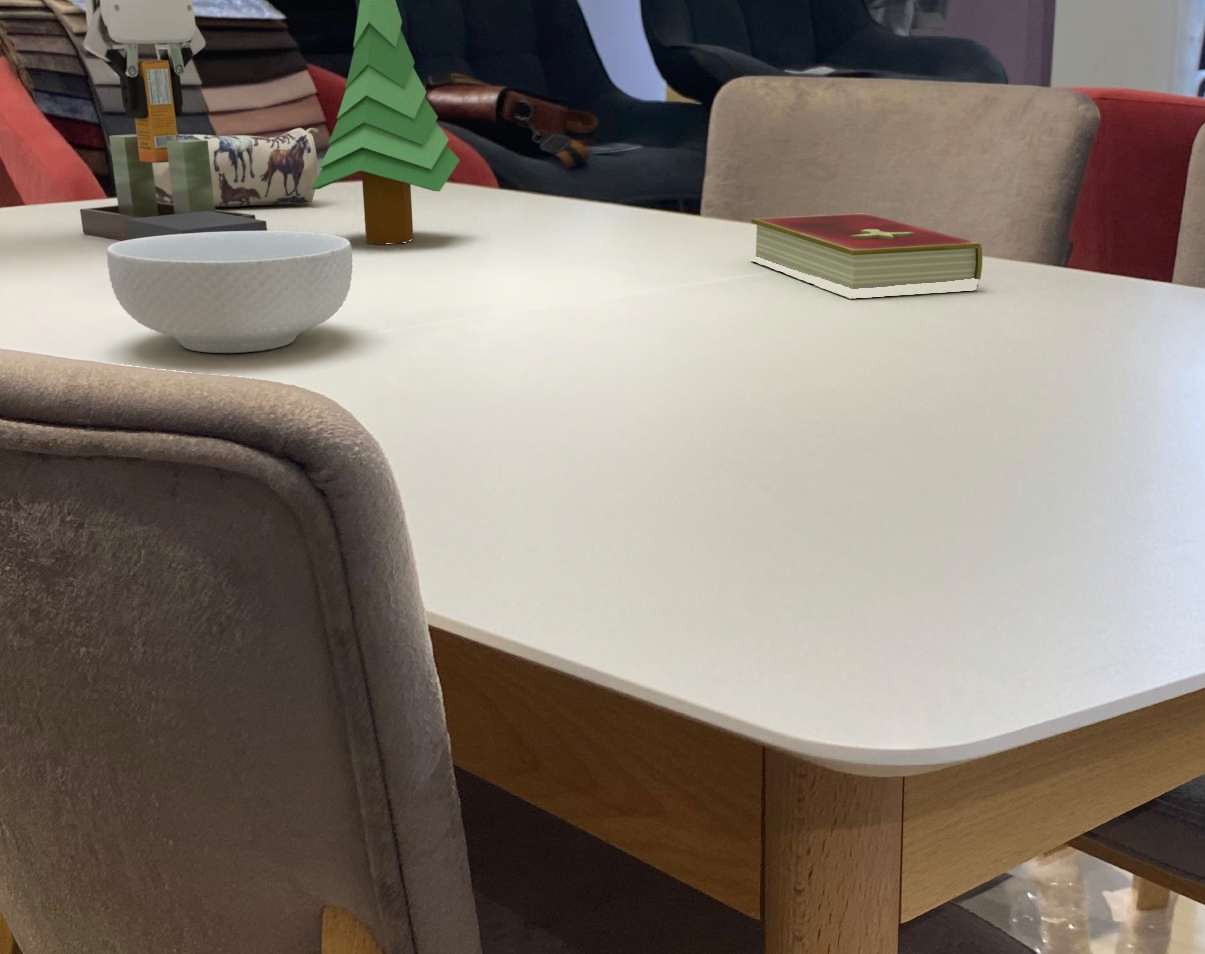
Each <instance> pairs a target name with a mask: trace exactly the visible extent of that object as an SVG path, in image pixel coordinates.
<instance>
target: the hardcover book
mask: <svg viewBox="0 0 1205 954" xmlns="http://www.w3.org/2000/svg"><path fill="white" fill-rule="evenodd" d="M751 224H754V225H756V239H755V240H756V241H755V257H756V256H757V257H760V258H763V259H765V260H768V261H771V262H773V263H776V264H779V265H782V266H785V267H787V268H790V269H793V270H797V271H799V272H802V273H805V274H808V275H812V276H815V277H820V278H822V279H825V280H828V281H831V282H833V283H836V284H841V285H843V286H845V287H849V288H851V289H859V288H874V287H875V288H876V287H886V286H887V287H888V286H895V285H906V284H918V283H919V284H921V283H934V282H935V283H936V282H947V281H955V280H964V279H971V278H975V279H979V278H980V279H981V277H982V271H983V248H982V245H981V243H979V242H975V241H971V240H968V239H965V238H961V237H957V236H953V235H950V234H945V233H941V232H938V231H934V230H930V229H926V228H922V227H918V226H914V225H910V224H907V223H904V222H900V221H896V220H891V219H889V218H888V219H887V218H885V217H880V216H877V215H872V214H869V213H864V212H861V213H860V212H859V213H839V214H819V215H799V216H798V215H796V216H780V217H778V216H776V217H757V218H751Z"/></svg>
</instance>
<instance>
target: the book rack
mask: <svg viewBox="0 0 1205 954" xmlns="http://www.w3.org/2000/svg"><path fill="white" fill-rule="evenodd" d="M108 138H109V144H110V145H109V147H110V152H111V153H110V154H111V160H112V168H113V177H114V184H115V193H116V200H117V205H116V204H115V205H107V206H106V205H105V206H97V207H88V208H80V209H79V213H80V220H81V229H82V233H83V234H84V235H90V236H94V237H95V236H97V237H102V238H107V239H112V240H113V239H114V240H119V241H126V240H130V239H129V232H128V224H127V219H133V218H143V217H153V216H163V215H173V214H183V213H194V212H204V211H212V212H217V213H223V214H229V215H235V216H240V217H246V218H252V219H256V214H251V213H243V212H235V211H230V210H229V211H228V210H221V209H216V207H215V206H214V197H213V187H212V178H211V168H210V158H209V149H208V141H207V140H196V139H185V140H172V141H166V143H167V152H168V161H169V170H170V178H171V187H172V196H173V204H170V203H163V202H157V199H156V191H155V182H154V174H153V165H152V162H143V161H140V159H139V149H138V140H137V133H136V134H135V133H132V134H119V135H118V134H117V135H116V134H115V135H109V137H108Z"/></svg>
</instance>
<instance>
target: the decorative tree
mask: <svg viewBox="0 0 1205 954" xmlns="http://www.w3.org/2000/svg"><path fill="white" fill-rule="evenodd" d="M402 24H403V21H402V17H401V13H400V10H399V8H398V4H397V1H396V0H359V5H358V11H357V19H356V26H355V33H354V39H353V48H354V49H353V53H352V58H351V63H350V67H349V70H348V75H347V78H346V83H345V92H344V94H343V98H342V101H341V104H340V107H339V110H338V113H337V116H336V119H337V120H336V124H335V126H334V128H333V130H332V133H331V136H330V138H329V140H328V143H327V144H328V145H329V146H328V149H327V151H326V153H325V155H324V156H323V159H322V160H321V163H320V165H319V167H318V168H319V169H321V170H320V172H319V174H317V179H316V180H315V182H314V184H313V186H312V187H311V189H315V190H322V188H325V187H327V186H330V185H332V184H334V183H336V182H338V181H340V180H342V179H345V178H347V177H350V176H352V175H354V174H356V173H358V172H361V185H362V198H363V210H364V211H363V212H364V228H365V243H366V242H372V243H371V244H374V243H380V244H379V245H381V244H386V243H403V242H408V241H409V240H411V239H413V240H414V224H413V207H412V206H413V205H412V189H411V188H412V186H415V187H418V188H422V189H424V190H425V189H426V190H429V191H432V192H441V191H442V189H443V188H444V186H445V185H446V183H447V181H448V179H449V178H450V177H451V175H452V173H453V171H454V170H455V169H456V167H457V165H458V164H459V162H460V161H461V159H460V158H459V157H458V156H457V155H456V154H455V153H454V151H453V150H451V148H450V147H449V146H448V145H447V144H448V142H449V140H450V138H448V136H447V135H446V134H445V132H444V131H443V130H442V129H441V127H440V125H438V123H437V120H438V118H439V116H438V114H437V113H436V112H435V110H434V109H433V107H432V106H431V104H430V102H429V101H428V99H427V98H426V94H427V90H426V88H425V87H424V85H423V83H422V81H421V79H420V77H419V76H418V74H417V71H416V70H415V67H414V65H415V59H414V58H413V55H412V53H411V50H410V48H409V46H408V44H407V41H406V38H405V37H404V34H403V32H402ZM311 189H310V190H311ZM408 243H409V242H408ZM386 245H387V244H386Z"/></svg>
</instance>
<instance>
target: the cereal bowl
mask: <svg viewBox="0 0 1205 954" xmlns="http://www.w3.org/2000/svg"><path fill="white" fill-rule="evenodd" d="M106 258H107V259H106V261H107V268H108V274H109V280H110V283H111V288H112V290H113V293H114V296H115V298H116V300H117V301H118V303H119V305H120V307H122V309H123V310H124V311H125V312H126V313H127V315H129V316H130V317H131V318H132V319H133V320H135V321H136V322H137V323H138V324H141V325H142V326H144V327H146V328H147V329H150V330H153V331H155V332H158V333H160V334H163V335H165V336H168V337H170V338H171V337H172V338H174V339H175V340H177V341H178V342H179V344H180V345H181V347H183V348H184V349H187V350H190V351H195V352H199V353H200V352H201V353H212V354H213V353H214V354H242V353H252V352H253V353H254V352H261V351H268V350H274V349H279V348H281V347H285V346H287V345H290V344H292V343H293V342H294V341H295V340H296V338H297V336H298V335H299V334H300V333H302V332H305V331H307V330H309V329H312V328H313V327H316V326H318V325H320V324H322V323H324V322H325V321H328V320H329V319H331V318H332V317H333V316H334V315H335V314H336V313H337V312H339V309H340V308H341V307H343V304H344V302H346V300H347V299H346V298H347V297H348V293H349V291H350V287H351V281H352V275H353V247H352V244H351V242H350V241H349V239H347V238H345V237H342V236H339V235H333V234H328V233H321V232H309V231H297V230H296V231H294V230H293V231H292V230H267V231H229V232H204V233H188V234H175V235H163V236H153V237H145V238H137V239H131V240H126V241H124V240H121V241H117V242H115V243H112V244H110V245H109V246H108V247H107V249H106Z"/></svg>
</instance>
